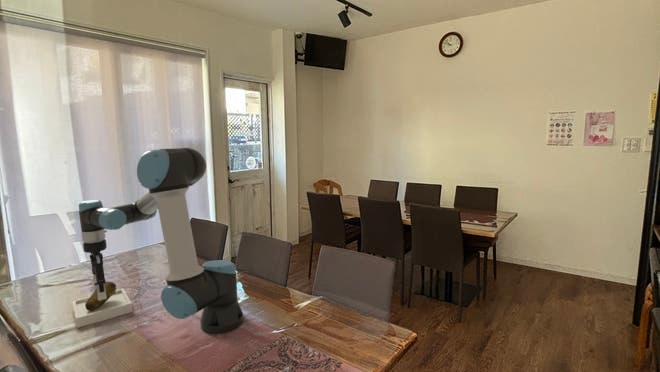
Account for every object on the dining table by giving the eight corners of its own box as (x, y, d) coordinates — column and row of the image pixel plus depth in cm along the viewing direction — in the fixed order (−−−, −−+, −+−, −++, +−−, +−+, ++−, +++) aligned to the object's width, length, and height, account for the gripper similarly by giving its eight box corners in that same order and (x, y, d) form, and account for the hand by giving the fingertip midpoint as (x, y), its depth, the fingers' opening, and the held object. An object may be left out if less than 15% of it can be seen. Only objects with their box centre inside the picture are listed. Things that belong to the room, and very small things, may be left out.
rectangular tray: (132, 312, 141) (131, 303, 141) (77, 327, 130) (75, 318, 130) (124, 296, 155) (123, 288, 155) (73, 309, 144) (72, 300, 144)
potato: (77, 309, 139) (75, 290, 137) (111, 296, 150) (109, 278, 149) (90, 314, 135) (87, 294, 134) (123, 300, 146) (121, 281, 145)
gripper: (110, 245, 132) (116, 302, 136) (101, 232, 150) (107, 282, 153) (85, 249, 128) (92, 308, 131) (79, 235, 145) (86, 287, 149)
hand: (100, 294), depth 142 cm, fingers open, 10 cm apart
